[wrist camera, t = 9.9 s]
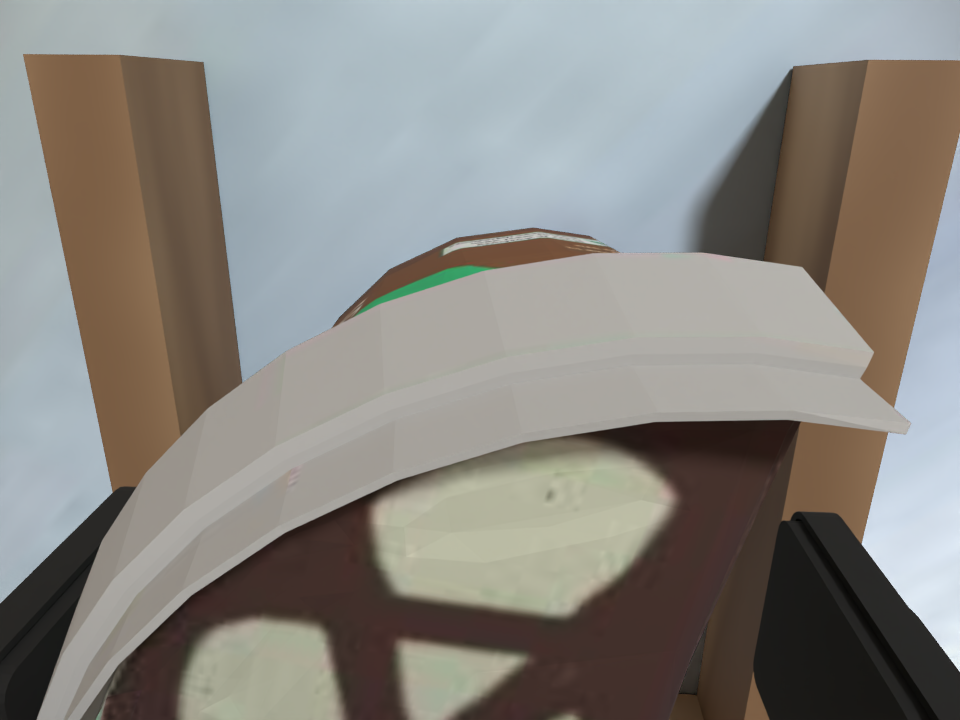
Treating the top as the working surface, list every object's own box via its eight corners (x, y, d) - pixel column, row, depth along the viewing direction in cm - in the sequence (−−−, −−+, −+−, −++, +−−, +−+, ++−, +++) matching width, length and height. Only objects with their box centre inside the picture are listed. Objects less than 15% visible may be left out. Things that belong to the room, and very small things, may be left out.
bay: (877, 66, 13) (976, 60, 10) (747, 740, 19) (786, 855, 16) (126, 61, 14) (23, 54, 11) (229, 713, 19) (179, 818, 17)
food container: (293, 79, 13) (-100, 105, 4) (612, 161, 14) (951, 350, 4) (221, 604, 17) (-39, 1216, 8) (465, 643, 18) (483, 1242, 9)
